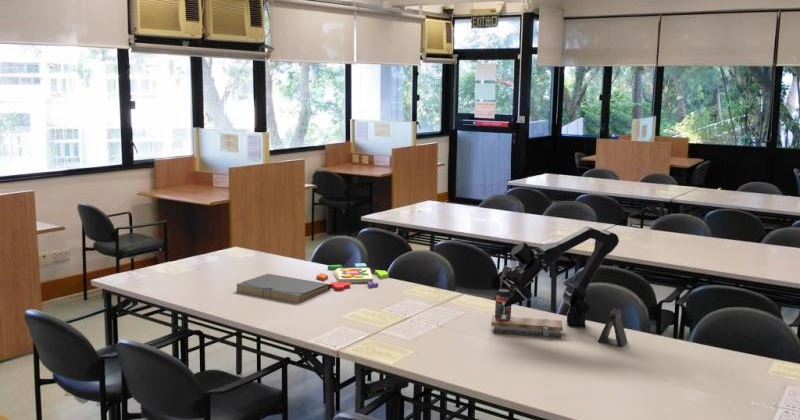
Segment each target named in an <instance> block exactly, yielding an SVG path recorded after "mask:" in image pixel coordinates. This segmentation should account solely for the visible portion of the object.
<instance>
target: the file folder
mask: <svg viewBox="0 0 800 420" xmlns="http://www.w3.org/2000/svg"><path fill="white" fill-rule="evenodd" d="M331 289H332V288H331V287H330V283H327V282H326V283H325V282H320V281H314V280H308V279H307V280H306V279H302V278H295V277H290V276H286V275H285V276H283V275H279V274H278V275H277V274H272V273H266V274H263V275H260V276H257V277H253V278H250V279H248V280H244V281H242V282H239V283H236V292H238V293H244V294H249V295H254V296H261V297H267V298H272V299H277V300H283V301H289V302H292V303H297V304H300V303H302V302H305V301H307V300H309V299H312V298H315V297H316V296H318V295H321V294H323V293H326V292H328V291H331Z"/></svg>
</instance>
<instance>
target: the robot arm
mask: <svg viewBox="0 0 800 420" xmlns="http://www.w3.org/2000/svg"><path fill="white" fill-rule="evenodd" d="M590 239H593V240H594V247H593V248H594V249H593V251H592V253H591V255H590V257H589V258H588V259H587V262H586V263H585V265H584V267H583V269H582V270H581V272H580V273H579V275H578V277H577V279H576V280H575V281H574V283H572V284H571V283H568V284H567V285H566V288H565V289H564V290H562V292H563V294H562V298H563V301H564V302H565V303H566V306H567V307H568V310H567V311H566V324H567V326H568V327H572V328H574V327H575V328H584V329H585V328H586V327H587V326H586V318H587V317H586V316H587V313H589V310H590V308H591V307H590V306H589V305H588V303H586V302H585V300H586V297H587V290H588V287H589V286H590V284H591V282H592V280H593V278H594V277H595V275H596V273H597V271H598V270H599V268H600V266H601V265H602V263H603V262H604V259H605V258H606V257H607V255H609V254H610V253H612V252H613V251H614V250H615V248H616V247H617V246H618V244H619V242H620V239H619V237H618V235H617V234H616V233H614V232H612V231H609V230H607V229H604V230H599V229H596V228H593V227H591V226H588V225H587V226H584V227H583V228H582V229H579V230H578V231H575V232H573V233H572V234H570V235H567V236H566V237H564V238H562V239H560V240H558V241H555V242H549V243H546V244H543V245H540V246H539V247H538V248H531V247H530V246H529V245H528V243H526V242H525V241H523V242H521V243H519V244H517V245H515V246H514V247H512V249H511V250H510V255H512V257H513V258H514V259H515V260H516V261H517V262H518V263H519V264H520V265H524V266H523V267H522V268H520V267H518V268H516V267H510V266H508V265H506V264H505V265H503V267H502V270H501V272H500V273H501V275H500V276H499V281H500V283H499V284H500V286H499V288H498V290H497V292H496V294H495V296H494V300H496V296H497V295H499V290H500V289H507V290H509V291H510V293H511V292H512V293H511V295H510V297H509V299H508V300H507V301H506V303H505V304H504V306H505V307H508V306H510V305H511V306H512V305H514V304H515V305H516V304H518V303H521V302H524V301H530V300H531V299H532V297H533V293H532V292H531V291H530V289H528V288H527V286H528V285H529V284H530V283H532V284H533V283H534V282H535V280H534V279H535V278H536V277H537V276H538V275H539V274H540V273H541V271H543V272H544V273H548V265H549V264H553V263H554V262H556V261H557V260H558V259H560V257H562V255H563V254H564V253H566V252H567V251H569V250H571V249H573V248H575V247H577V246H579V245H581V244H583V243H584V242H586V241H588V240H590ZM542 261H543V262H544V263H543V262H542Z"/></svg>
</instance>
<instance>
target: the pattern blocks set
mask: <svg viewBox="0 0 800 420" xmlns="http://www.w3.org/2000/svg"><path fill="white" fill-rule="evenodd" d="M370 269H371V268H370V267H368V266H367V264H366V263H364V262H361V263H360V262H359V263H354V267H344V266H343V265H342V264H331V265H328V266H327V270H328V271H329V270H331V271H332V273H331V274H332V276H334V278H335V280H336V281H332V282H330V283H329V284H330V287H331V288H330V289H333V290H334V291H337V292H341V291H345V290H346V289H350V288H351V284H359V283H360V284H361V283H367V287H368V289H372V288H377V287H379V282H374V278H373V275H372V270H370ZM374 275H376V276H377V277H378V278H379V279H380V280H383V279H387V278H389V273H388V271H386V270H379V269H375V270H374ZM328 278H329V275H328V274H327V273H322V272H320V273H318V274H317V275H316V279H317V280H318V281H322V282H325V281H326V280H327V279H328Z"/></svg>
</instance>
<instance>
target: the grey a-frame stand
mask: <svg viewBox="0 0 800 420" xmlns="http://www.w3.org/2000/svg"><path fill="white" fill-rule="evenodd" d="M604 325H605V326H604V327H603V329H602V330H601V334H600V335H599V338H598V340H597V342H598V343H600V344H604V345H610V346H614V347H618V348H623V347H624V346H625V345H626V344H628V338H627V334H626V331H625V327H624V323H623V320H622V310H621V309H620V308H618V309H617V308H613V310H611V311H609V313H608V314H607V320H606V323H605V324H604ZM612 328H614V333H615V338H611V337H609V336H610V333H611V330H612Z"/></svg>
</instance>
